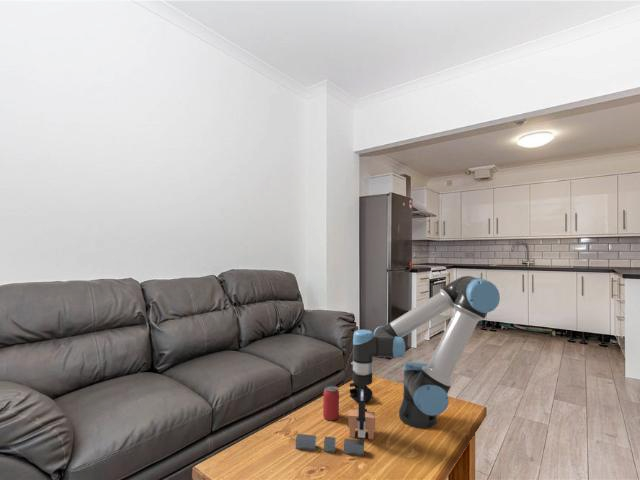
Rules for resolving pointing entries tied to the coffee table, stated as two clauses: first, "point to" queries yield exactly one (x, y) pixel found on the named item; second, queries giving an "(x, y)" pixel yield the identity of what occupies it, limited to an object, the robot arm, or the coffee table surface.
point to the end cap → (355, 395)
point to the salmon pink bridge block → (368, 422)
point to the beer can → (331, 403)
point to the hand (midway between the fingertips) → (361, 433)
